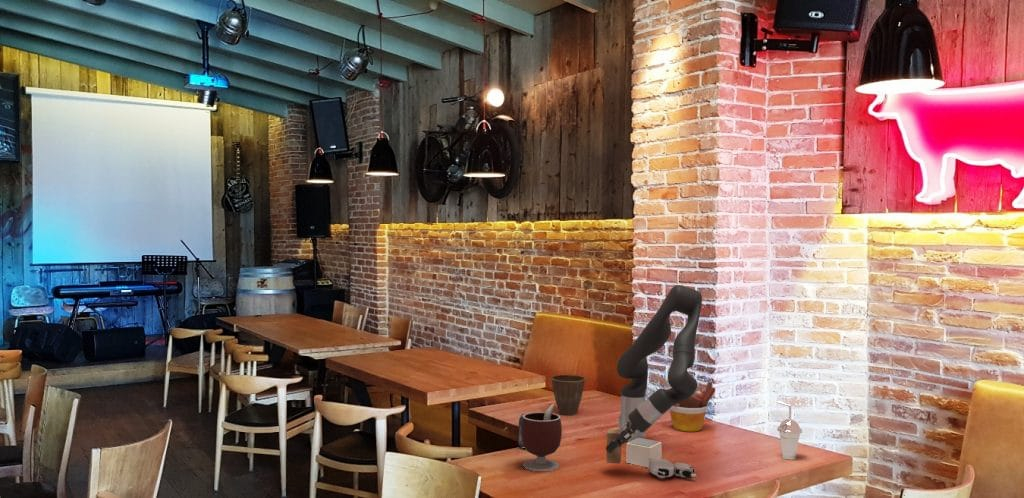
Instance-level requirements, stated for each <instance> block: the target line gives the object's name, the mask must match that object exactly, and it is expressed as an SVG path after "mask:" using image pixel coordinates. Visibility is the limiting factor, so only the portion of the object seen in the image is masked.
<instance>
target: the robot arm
mask: <svg viewBox="0 0 1024 498" xmlns="http://www.w3.org/2000/svg"><path fill="white" fill-rule="evenodd" d="M702 304H703V296H702V293H701V292H700V291H699V290H697V289H694V288H691V287H689V286H685V285H681V284H675V285H674V286H673V287H671V289H670V290H669V291H668V293H667V295H666V296H665V298H664V300H663V302H661V305H660V306H659V308H658V309H657V311H656V312H655V314H654V315H653V317H652V318H651V319H650V320H649V322H648V323H647V324H646V325H645V327H644V328H643V329H642V331H641V333H639V335H638V336H637V338H636V339H635V340H634V341H633V343H632V344H631V345H630V346H629V347H628V348H627V349H626V350H625V351H624V352H623V353H622V354H621V356H619V358H618V360H617V363H616V373H617V374H618V376H619V377H621V378H623V379H627V380H629V379H631V380H630V382H628V383H627V384H626V385H624V386H623V387H621V391H620V392H621V393H620V394H621V395H620V414H619V415H618V430H620V432H619V434H618V437H616V438H615V439H614V440H613V441H612V442H611V443H610V444H609V445H608V446H607V445H606V447H605V450H606V452H607V451H608V452H609V453H611V452H612V451H613V450H614V449H615V448H616V447H618V446H619V447H620V446H621V447H622V446H623V445H624V444H626V443H628V442H631V441H633V440H635V439H637V438H643V439H645V436H646V434H645V432H646V431H647V430H648V429H650V427H652V426H653V425H654V424H655V423H656V422H658V420H659V419H660V418H662V416H663V415H664V414H665V413H666V412H668V411H670V408H671V407H672V406H674V405H676V404H678V403H680V402H682V401H684V400H686V399H687V398H689V397H690V396H692V395H693V394H694V393H695V391H696V392H697V388H698V381H697V379H696V378H695V377H694V376H693V375H691V373H689V372H688V369H691V368H692V367H693V366H694V364H695V351H696V350H695V349H696V347H695V345H696V336H697V331H698V326H699V321H700V317H701V312H702V311H701V310H702V306H703V305H702ZM673 312H677V313H681V314H684V315H687V321H686V323H685V325H684V327H682V329H681V330H680V331H679V332H678V334H677V335H676V337H675V339H674V341H673V346H672V348H673V349H672V361H671V364H670V365H669V366H670V367H669V369H668V372H667V382H668V385H669V388H668V389H667V388H663V387H661V388H658V389H657V390H656V391H654V392H653V393H652V394H651V395H650V396H649V397H648V398H646V391H647V388H648V376H649V363H648V359H647V358H648V357H649V356H651V355H653V354H654V353H656V352H658V351H659V350H660V349H662V347H663V346H664V345H665V344H666V343H667V341H668V340H669V339H670V337H671V334H672V326H671V320H670V316H671V314H672V313H673ZM670 386H671V387H672V388H670ZM666 389H667V390H666ZM621 434H622V435H621ZM619 439H621V442H620V441H619ZM627 441H628V442H627Z"/></svg>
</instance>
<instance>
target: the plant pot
mask: <svg viewBox="0 0 1024 498" xmlns="http://www.w3.org/2000/svg"><path fill="white" fill-rule="evenodd" d="M585 382H586V378H585V377H584V376H580V375H576V374H575V375H573V374H558V375H554V376H552V377H551V385H552V391H553V395H554V399H555V405H556V407H557V409H558V413H559V415H562V414H563V415H562V416H574V414H575V415H577V413H578V410H579V407H580V404H581V401H582V397H583V393H584V388H585Z"/></svg>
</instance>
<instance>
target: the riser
mask: <svg viewBox="0 0 1024 498" xmlns="http://www.w3.org/2000/svg"><path fill="white" fill-rule="evenodd" d="M662 443H663V442H661V441H657V440H652V439H647V438H644V439H643V438H637V439H635V440H633V441H631V442H625V444H626V448H625V449H626V450H625V451H626V452H625V453H626V454H625V455H626V456H625V461H626V462H627V463H631V464H630V465H632V464H635V465H634V466H636V465H640V466H639V467H641V466H644V467H643V468H645V467H649V461H650V460H651V459H662V457H663V456H662V451H663V450H662V447H663V444H662ZM648 458H651V459H648ZM626 462H625V463H626ZM627 463H626V464H627Z"/></svg>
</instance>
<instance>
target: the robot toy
mask: <svg viewBox="0 0 1024 498" xmlns="http://www.w3.org/2000/svg"><path fill="white" fill-rule="evenodd" d="M648 459H651V458H648ZM647 469H648V471H649V472H650V473H651V474H653V475H654V476H656V477H657V478H659V479H665V478H669V477H672V476H674V475H675V477H680V478H683V479H685V478H690V479H691V478H697V474H696V473H695V469H694V468H693V466H692V465H690V464H687V463H685V462H674V463H672V462H671V461H669V460H667V459H662V458H661V459H651V460H650V461H649V467H648V468H647Z"/></svg>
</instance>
